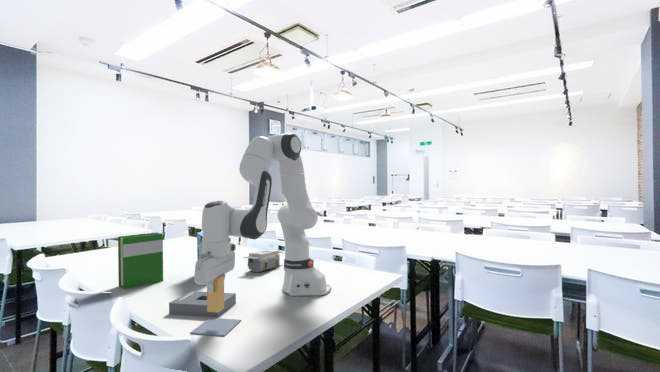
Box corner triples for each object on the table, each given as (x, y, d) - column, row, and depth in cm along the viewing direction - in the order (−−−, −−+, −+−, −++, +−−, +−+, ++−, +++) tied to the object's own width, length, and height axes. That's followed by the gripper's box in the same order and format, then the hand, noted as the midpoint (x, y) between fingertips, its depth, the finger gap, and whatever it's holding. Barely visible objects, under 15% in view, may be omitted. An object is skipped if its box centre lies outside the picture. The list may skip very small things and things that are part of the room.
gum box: (214, 281, 163) (213, 236, 163) (203, 283, 161) (203, 236, 160) (206, 273, 180) (206, 231, 180) (196, 274, 177) (196, 232, 177)
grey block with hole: (235, 303, 133) (235, 292, 133) (218, 316, 119) (218, 305, 119) (191, 300, 136) (191, 290, 136) (169, 313, 123) (169, 302, 123)
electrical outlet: (239, 272, 177) (240, 254, 178) (269, 264, 203) (269, 248, 204) (257, 274, 173) (258, 255, 173) (285, 266, 199) (285, 249, 199)
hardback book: (123, 289, 152) (123, 238, 152) (118, 286, 157) (118, 236, 157) (163, 281, 165) (162, 233, 165) (157, 278, 170) (156, 232, 170)
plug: (224, 308, 112) (224, 273, 112) (218, 312, 108) (217, 276, 108) (213, 307, 113) (213, 272, 113) (207, 311, 109) (206, 275, 109)
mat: (241, 320, 115) (241, 319, 115) (224, 336, 103) (224, 335, 103) (210, 318, 117) (210, 317, 117) (190, 333, 106) (190, 332, 106)
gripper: (207, 256, 100) (207, 301, 100) (238, 244, 120) (238, 281, 120) (188, 255, 101) (188, 300, 101) (222, 243, 121) (222, 281, 121)
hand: (215, 290), depth 110 cm, fingers closed on plug, 4 cm apart
